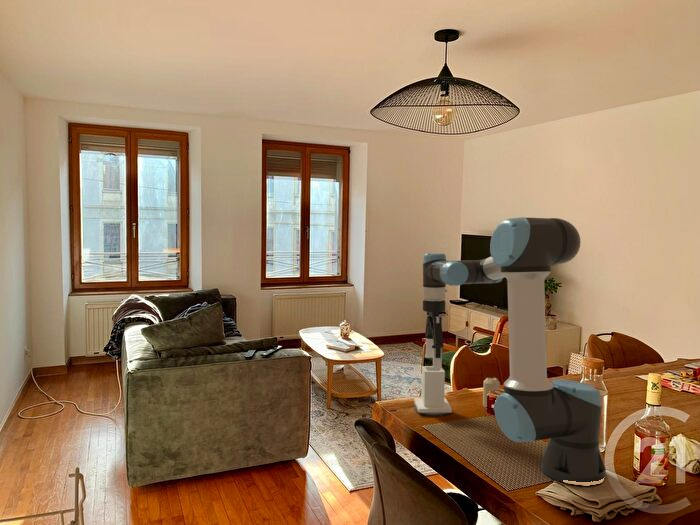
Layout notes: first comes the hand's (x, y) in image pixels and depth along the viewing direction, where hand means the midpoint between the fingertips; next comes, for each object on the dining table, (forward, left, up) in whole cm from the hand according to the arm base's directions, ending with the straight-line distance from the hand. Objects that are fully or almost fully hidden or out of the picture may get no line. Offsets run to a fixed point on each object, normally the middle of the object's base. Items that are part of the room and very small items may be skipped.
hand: (433, 362), depth 177 cm
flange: (0, 0, -15) cm, 15 cm away
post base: (0, 0, -16) cm, 16 cm away
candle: (+3, -21, -17) cm, 27 cm away
